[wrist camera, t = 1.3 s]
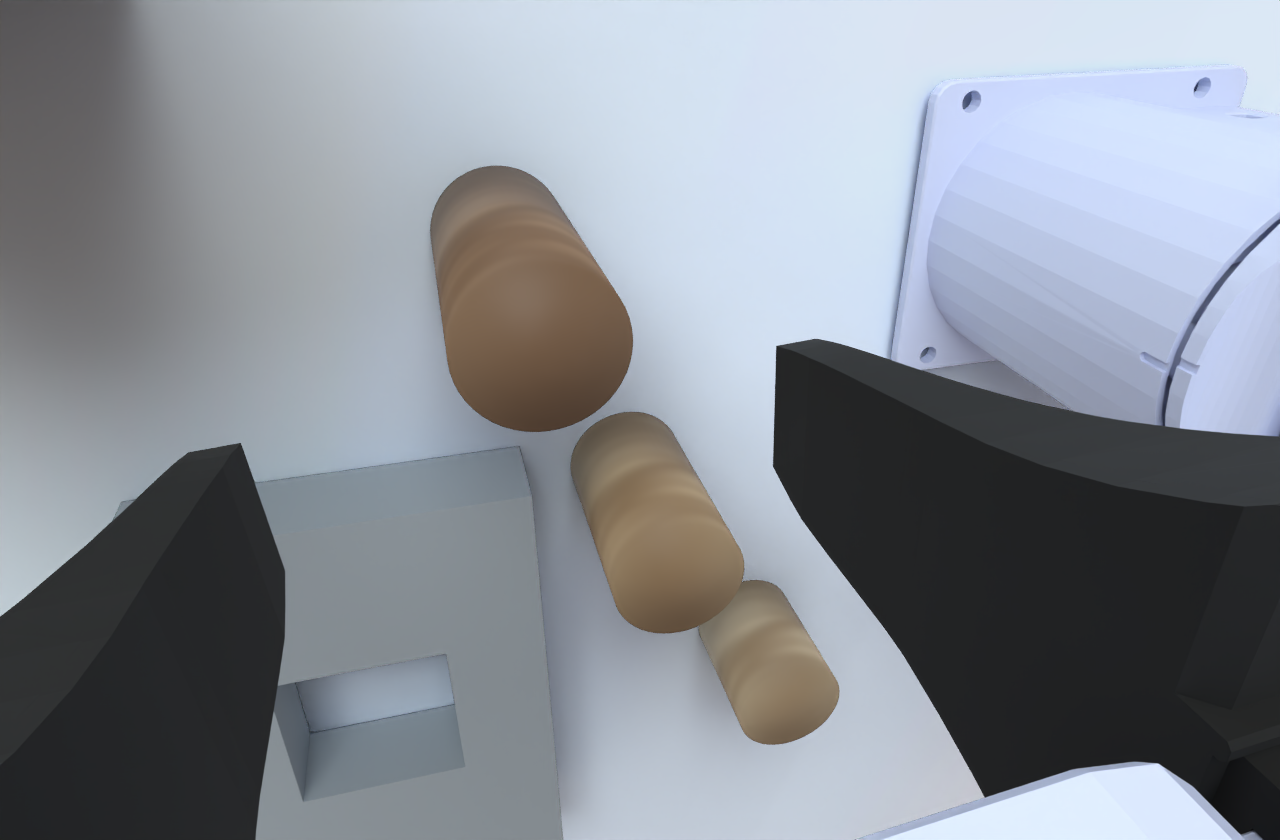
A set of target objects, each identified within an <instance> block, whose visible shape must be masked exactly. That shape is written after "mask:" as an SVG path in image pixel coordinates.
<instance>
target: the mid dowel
mask: <svg viewBox="0 0 1280 840" xmlns="http://www.w3.org/2000/svg"><path fill="white" fill-rule="evenodd" d="M571 474H572V478H573V481H574V484H575V487H576V490H577V493H578V496H579V499H580V502H581V504H582V507H583V510H584V513H585V516H586V519H587V522H588V525H589V528H590V531H591V534H592V537H593V540H594V543H595V545H596V548H597V551H598V554H599V557H600V560H601V563H602V566H603V569H604V572H605V575H606V578H607V581H608V583H609V586H610V589H611V592H612V595H613V598H614V601H615V604H616V607H617V609H618V611H619V612H620V614H621V615H622V616H623V618H624V619H625V620H626V621H628V622H629V623H630V624H632V625H633V626H635V627H637V628H639V629H641V630H645V631H648V632H653V633H675V632H681V631H685V630H689V629H691V628H694V627H697V626H699V625H701V624H703V623H705V622H707V621H709V620H710V619H712V618H713V617H715V616H716V615H717V614H719V613H720V612H721V611H722V610H723V609H724V608H725V607H726V606H727V605H728V604H729V603H730V602H731V600H732V599H733V598H734V596H735V595H736V593H737V591H738V589H739V587H740V585H741V582H742V579H743V574H744V560H743V555H742V553H741V550H740V548H739V546H738V545H737V543H736V541H735V540H734V538H733V536H732V534H731V533H730V531H729V529H728V528H727V526H726V524H725V522H724V521H723V519H722V517H721V515H720V514H719V512H718V510H717V509H716V507H715V505H714V503H713V502H712V500H711V498H710V496H709V495H708V493H707V491H706V490H705V488H704V486H703V484H702V483H701V481H700V479H699V478H698V476H697V474H696V472H695V471H694V469H693V467H692V465H691V464H690V462H689V460H688V459H687V457H686V455H685V453H684V452H683V450H682V448H681V446H680V445H679V443H678V441H677V440H676V438H675V436H674V434H673V433H672V431H671V430H670V428H669V427H668V426H667V425H666V424H665V423H664V422H663V421H661V420H659V419H658V418H656V417H654V416H652V415H649V414H645V413H640V412H624V413H618V414H615V415H611V416H609V417H606V418H604V419H602V420H600V421H599V422H597V423H595V424H594V425H593V426H591V427H590V428H589V429H588V430H587V431H586V432H585V433H584V434H583V435H582V437H581V438H580V439H579V441H578V442H577V444H576V446H575V448H574V451H573V454H572V458H571Z"/></svg>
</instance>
